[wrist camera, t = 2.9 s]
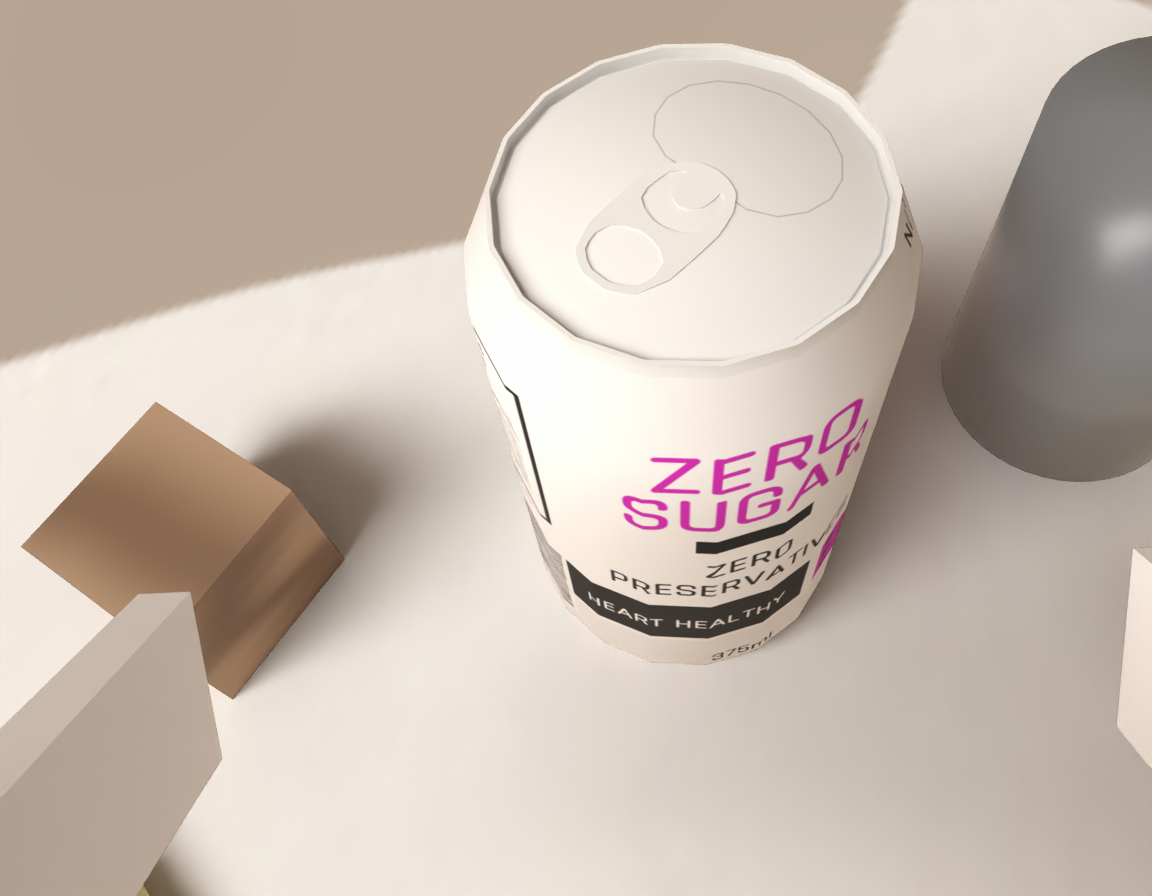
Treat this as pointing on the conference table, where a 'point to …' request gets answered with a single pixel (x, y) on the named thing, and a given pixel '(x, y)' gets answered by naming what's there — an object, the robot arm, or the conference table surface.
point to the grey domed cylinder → (1068, 286)
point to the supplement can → (690, 335)
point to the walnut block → (191, 541)
